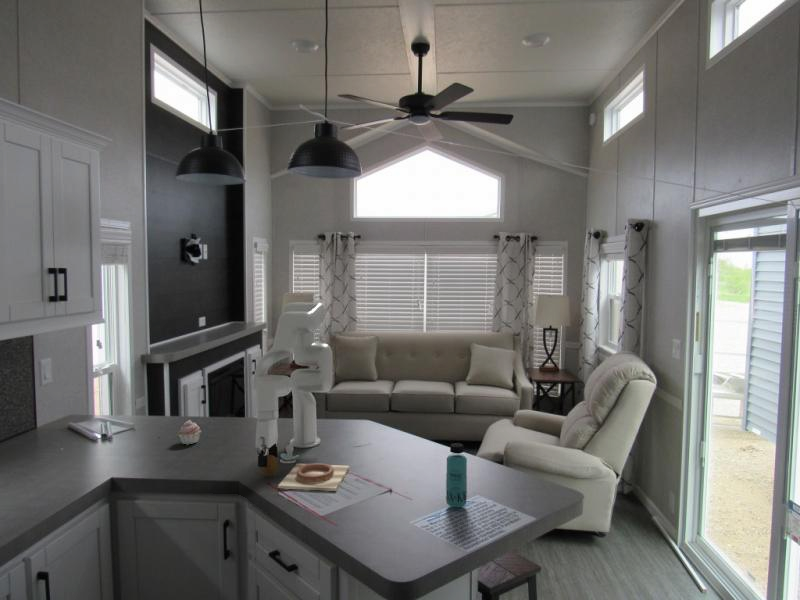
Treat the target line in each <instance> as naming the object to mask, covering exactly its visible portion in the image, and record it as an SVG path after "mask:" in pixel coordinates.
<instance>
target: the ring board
mask: <svg viewBox="0 0 800 600" xmlns="http://www.w3.org/2000/svg"><path fill="white" fill-rule="evenodd" d="M350 468H351V467H350V465H341V464H339V465H336V464H328V463H323V462H320V463H319V462H314V463H296V464H295V465H294V466H293V467H292V469H291V470H290V471H289V472H288V473H287V475H286V476H285V477H284V478H283V480H282V481H280V483H279V484H278V485H277V489H278V488H284V489H283V490H289V489H307V490H306V491H309V490H325V491H324V492H329V491H336V492H337V491H338V490H339V488H340V486H341V484H342V483H343V481H344V480H345V478H344V477H346V476H347V474H348V472H349V470H350ZM341 482H342V483H341ZM338 487H339V488H338ZM337 489H338V490H337Z"/></svg>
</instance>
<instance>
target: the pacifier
mask: <svg viewBox="0 0 800 600" xmlns="http://www.w3.org/2000/svg"><path fill="white" fill-rule="evenodd" d="M285 451H286V453H283V452H282V453H280V458H281V459H280V460H279V462H280V463H282V464H294V463H295V462H296V461H297V460H296V458H298V457H299V456H300V454H296V455H293V451H294V446H292V445H291V444H290V443H289V444H287V445H286V447H285ZM283 460H284V461H283ZM287 461H289V462H287Z"/></svg>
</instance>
